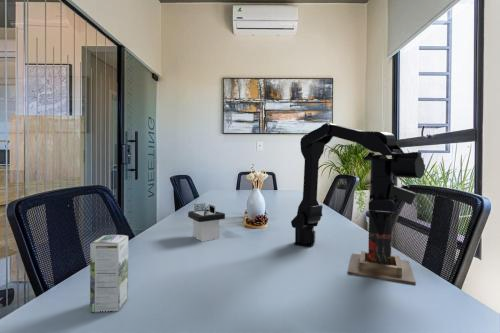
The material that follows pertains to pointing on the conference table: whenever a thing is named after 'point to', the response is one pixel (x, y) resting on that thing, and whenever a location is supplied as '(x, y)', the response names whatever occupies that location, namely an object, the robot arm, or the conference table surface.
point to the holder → (381, 269)
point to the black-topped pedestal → (205, 222)
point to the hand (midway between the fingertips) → (380, 231)
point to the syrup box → (108, 273)
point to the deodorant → (380, 243)
